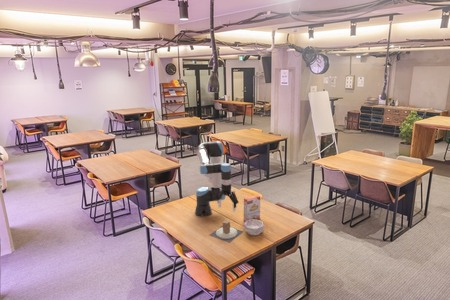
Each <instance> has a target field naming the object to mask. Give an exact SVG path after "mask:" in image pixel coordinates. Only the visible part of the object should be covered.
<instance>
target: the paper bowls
mask: <svg viewBox="0 0 450 300" xmlns="http://www.w3.org/2000/svg"><path fill="white" fill-rule="evenodd" d="M264 228H265V224H264V222H263V221H261V220H260V219H257V220H256V219H251V220H248V221H244V232H246V233H247V234H248V235H250V236H258V235H260V234H261V233H263V231H264V230H265V229H264Z"/></svg>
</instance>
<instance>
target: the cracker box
mask: <svg viewBox="0 0 450 300" xmlns="http://www.w3.org/2000/svg"><path fill="white" fill-rule="evenodd" d="M251 219H256V220H260V219H261V196H260V195H258V194H254V195H251V196H247V197H243V221H244V222H246V221H248V220H251Z"/></svg>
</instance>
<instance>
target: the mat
mask: <svg viewBox="0 0 450 300" xmlns="http://www.w3.org/2000/svg"><path fill="white" fill-rule="evenodd" d="M222 227H223V225H222V226H220V227H219V228H222ZM219 228H217V229H215V230H214V231H212V233H210V234H209V236H210V237H212V238H216V239H218V240H221V241H223V242H227V243H231V242H233V241H234V240H235V239H237V238H238V237H239V236H241V235H242V234H243V233H244V232H245V230H244V231H243V230H241V229H238V228H234V227H233V228H234V229H236V230H237V235H236V236H235V237H234V238H231V239H222V238H219V237H217V236H216V231H217V230H218V229H219Z"/></svg>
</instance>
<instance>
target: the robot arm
mask: <svg viewBox="0 0 450 300" xmlns="http://www.w3.org/2000/svg"><path fill="white" fill-rule="evenodd" d="M195 150H196V151H195V153H196V156H197V157H198V159H199V162H200V165H199V172H200V174H201V175H211V179H212V180H211V181H212V184H211V186H210V188H209V187H208V186H201V187H199V188H197V189H196V191H195V192H196V194H195V196H196V206H195V210H194V213H195V215H196V216H199V217H206V216H210V215H211V214H212V213H213V212H212V210H213V209H212V207H211V205H210V204H211V202H217V204H218V205H217V207H218V209H220V208H222V201H224V200H226V197H228V198H229V199H230V201H231V202H232V213H235V212H236V209H237V204H239V200H238V197H237V195H236V193H235V192H236V190H232V164H231V163H227V162H224V161H222V160H221V158H222V156H223V155H224V154H225V152H224V151H225V150H224V145H223V143H222V142H221V141H218V140H217V141H215V140H214V141H204V142H202V143H200V144H199V145H198V146H197V147H196V149H195Z"/></svg>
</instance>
